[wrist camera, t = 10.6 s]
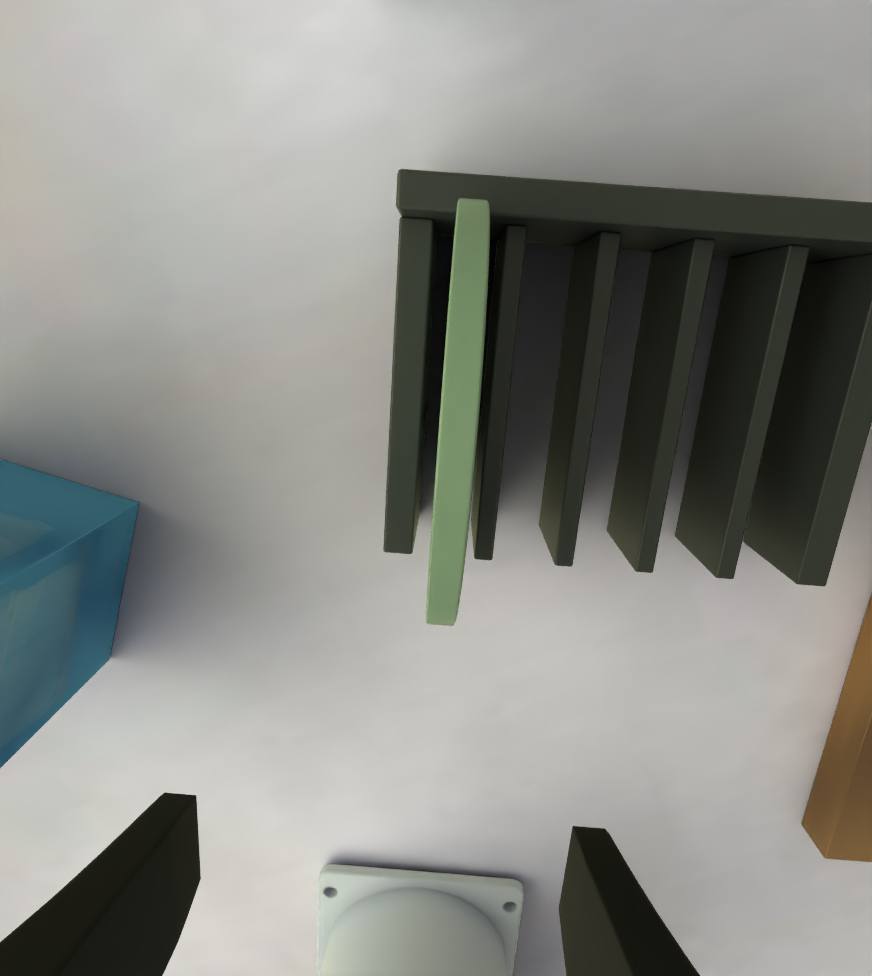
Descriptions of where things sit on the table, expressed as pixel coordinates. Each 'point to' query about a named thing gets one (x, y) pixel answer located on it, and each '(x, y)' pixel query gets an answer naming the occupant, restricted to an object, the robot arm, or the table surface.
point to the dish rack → (639, 369)
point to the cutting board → (847, 766)
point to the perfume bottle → (55, 593)
